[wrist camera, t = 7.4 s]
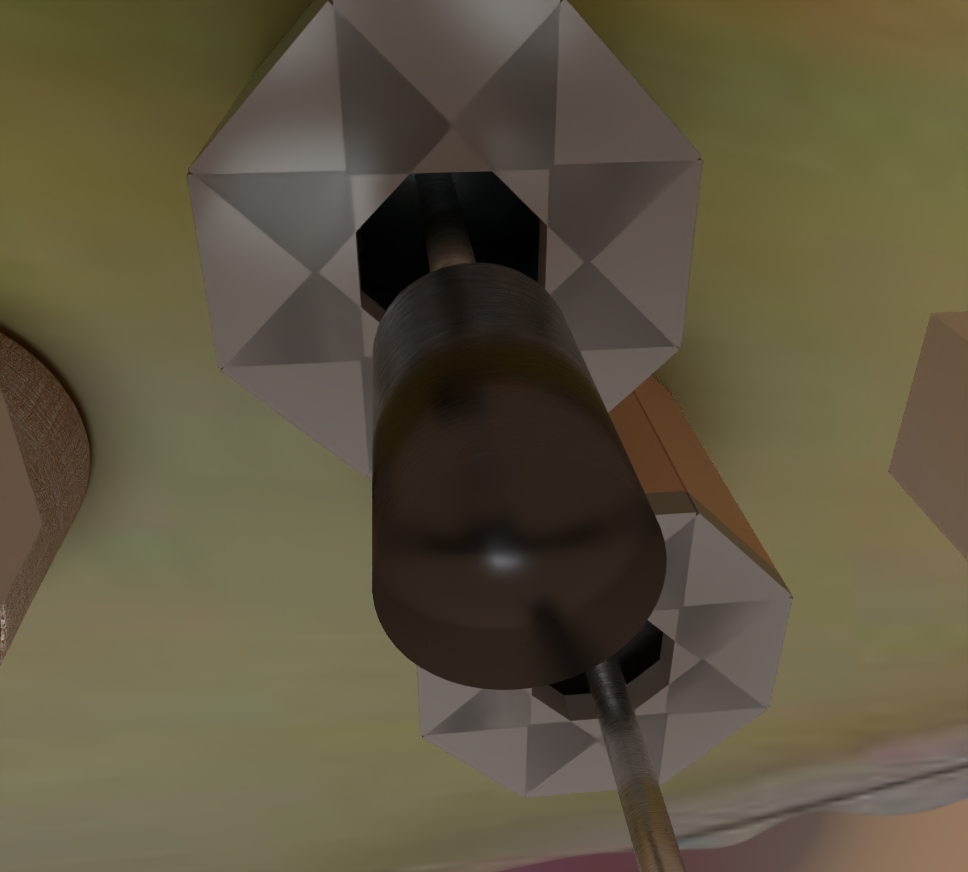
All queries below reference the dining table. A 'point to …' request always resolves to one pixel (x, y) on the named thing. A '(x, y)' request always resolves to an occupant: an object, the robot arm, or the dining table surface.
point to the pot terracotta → (678, 614)
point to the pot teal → (435, 149)
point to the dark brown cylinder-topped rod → (493, 454)
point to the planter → (41, 468)
